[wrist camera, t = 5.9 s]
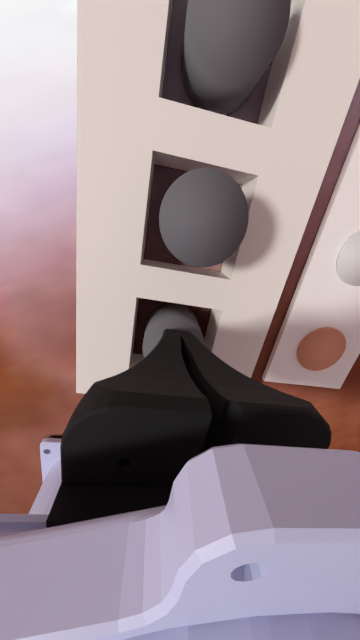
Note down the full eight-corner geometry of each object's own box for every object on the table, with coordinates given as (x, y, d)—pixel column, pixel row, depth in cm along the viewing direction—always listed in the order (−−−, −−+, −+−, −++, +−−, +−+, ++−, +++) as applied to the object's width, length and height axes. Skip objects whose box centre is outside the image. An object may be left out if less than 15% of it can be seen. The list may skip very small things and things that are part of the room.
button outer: (245, 124, 10) (270, 93, 8) (174, 105, 9) (179, 66, 7) (268, 23, 9) (306, -49, 6) (189, -4, 8) (199, -93, 6)
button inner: (192, 353, 14) (198, 377, 12) (142, 347, 14) (139, 371, 12) (203, 307, 13) (211, 324, 11) (149, 299, 13) (146, 315, 10)
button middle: (219, 263, 11) (234, 273, 9) (155, 252, 10) (153, 259, 8) (237, 190, 10) (260, 179, 7) (165, 174, 9) (166, 157, 7)
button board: (231, 386, 16) (240, 406, 14) (86, 371, 15) (76, 392, 13) (368, -32, 8) (425, -102, 7) (100, -141, 7) (78, -270, 5)
